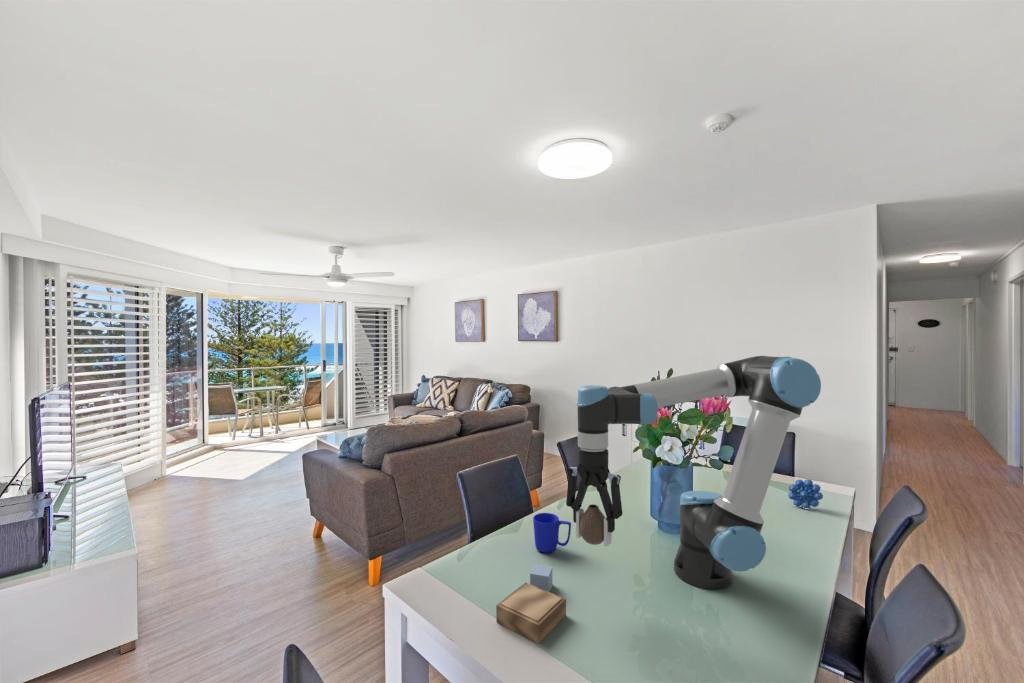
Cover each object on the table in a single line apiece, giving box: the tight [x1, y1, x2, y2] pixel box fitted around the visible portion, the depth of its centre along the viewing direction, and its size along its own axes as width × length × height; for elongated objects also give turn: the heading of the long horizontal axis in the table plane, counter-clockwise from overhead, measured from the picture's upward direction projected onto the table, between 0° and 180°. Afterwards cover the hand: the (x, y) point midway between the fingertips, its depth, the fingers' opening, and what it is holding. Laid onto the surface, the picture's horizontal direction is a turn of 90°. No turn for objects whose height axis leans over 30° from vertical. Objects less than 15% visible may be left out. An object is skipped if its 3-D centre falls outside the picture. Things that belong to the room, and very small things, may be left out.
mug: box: [532, 512, 572, 554], centre depth 137 cm, size 8×12×10 cm
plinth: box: [495, 582, 567, 644], centre depth 103 cm, size 12×12×4 cm
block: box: [529, 563, 554, 593], centre depth 115 cm, size 5×5×5 cm
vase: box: [580, 503, 606, 546], centre depth 107 cm, size 7×7×9 cm
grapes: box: [787, 478, 824, 509], centre depth 169 cm, size 12×7×12 cm, turn 41°
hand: (593, 539), depth 107 cm, fingers closed on vase, 7 cm apart
